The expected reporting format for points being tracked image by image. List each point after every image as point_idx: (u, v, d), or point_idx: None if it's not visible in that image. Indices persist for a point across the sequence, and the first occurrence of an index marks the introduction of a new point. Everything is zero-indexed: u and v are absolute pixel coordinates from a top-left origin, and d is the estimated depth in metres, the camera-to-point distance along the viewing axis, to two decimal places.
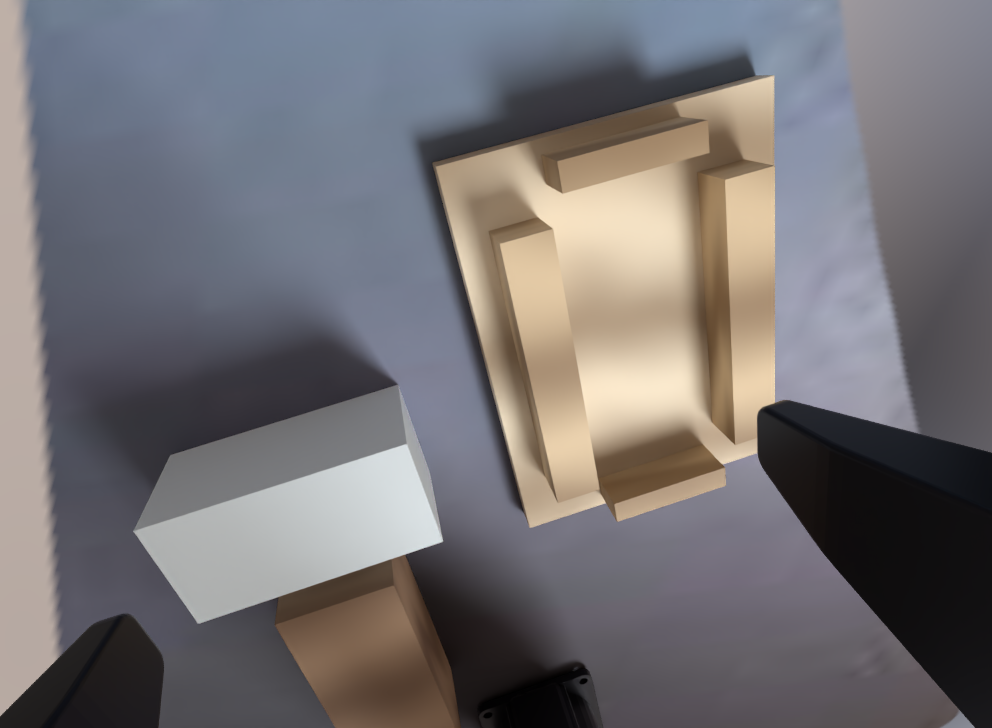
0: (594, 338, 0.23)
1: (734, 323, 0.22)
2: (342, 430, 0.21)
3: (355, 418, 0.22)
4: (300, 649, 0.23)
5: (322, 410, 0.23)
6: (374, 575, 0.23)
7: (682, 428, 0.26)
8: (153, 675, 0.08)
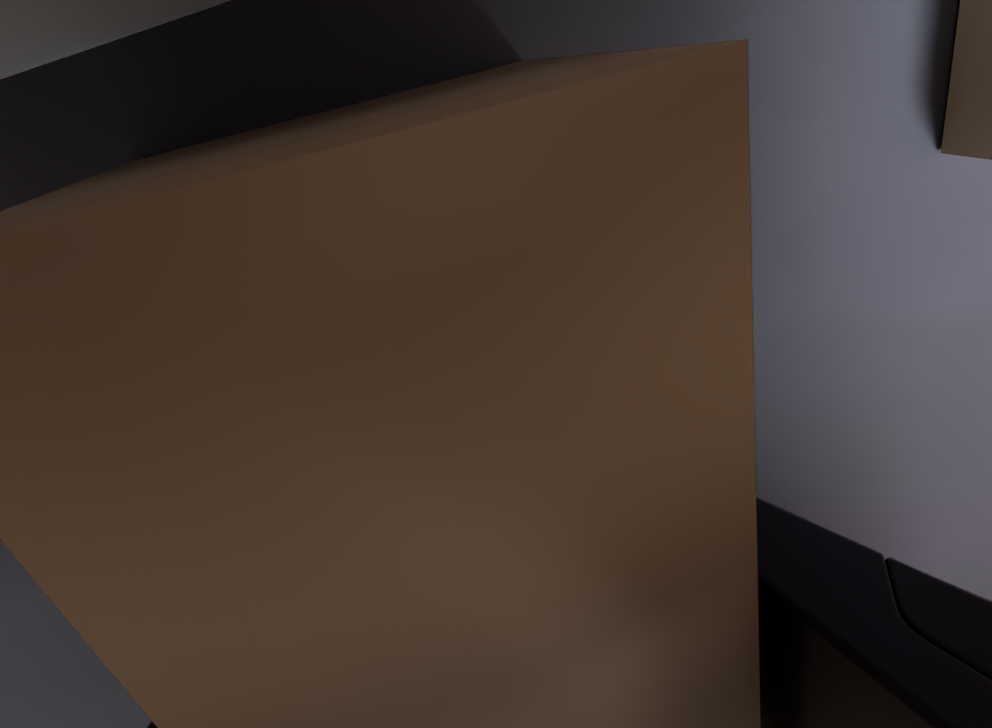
0: None
1: None
2: None
3: None
4: (77, 532, 0.03)
5: None
6: (562, 75, 0.04)
7: None
8: None
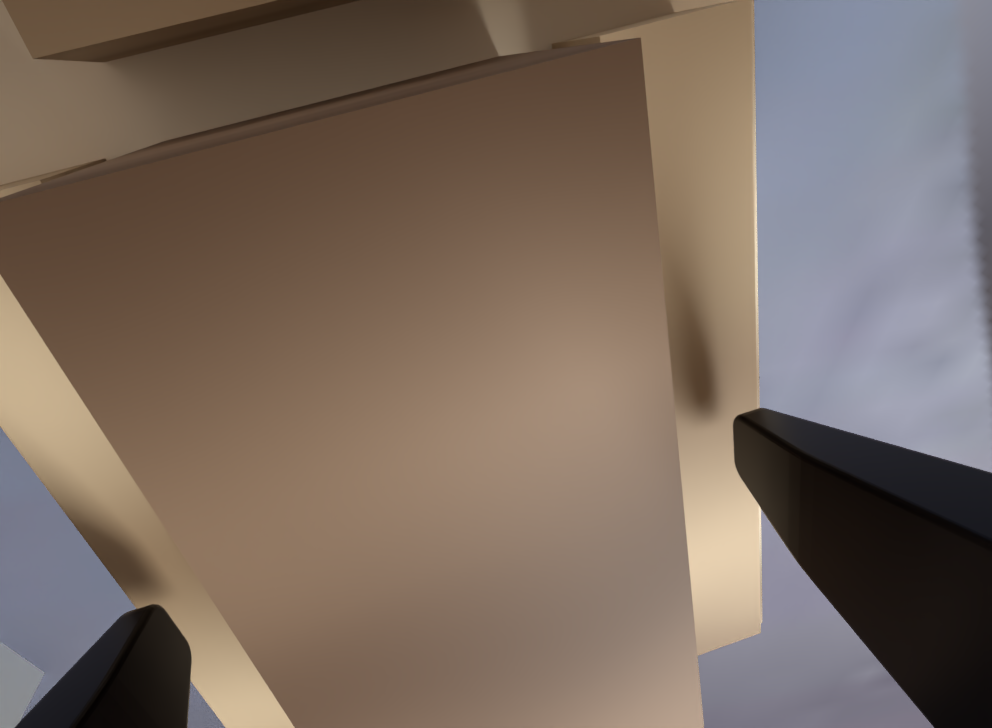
0: None
1: None
2: None
3: None
4: (145, 408, 0.04)
5: None
6: (513, 64, 0.05)
7: None
8: (182, 665, 0.08)
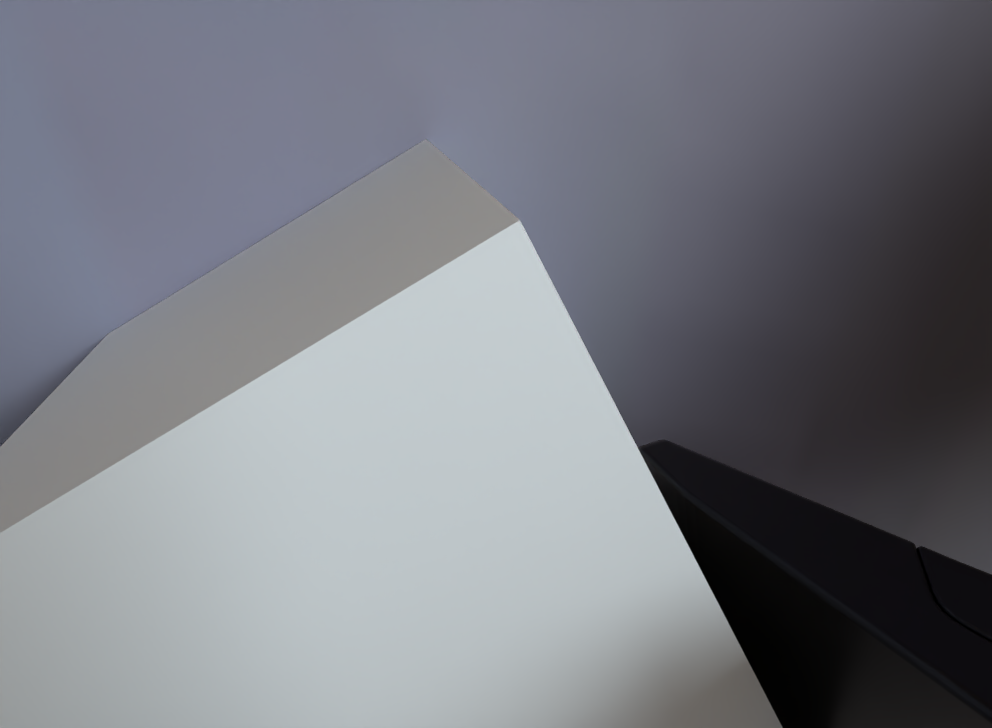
0: None
1: None
2: None
3: None
4: None
5: None
6: None
7: None
8: None
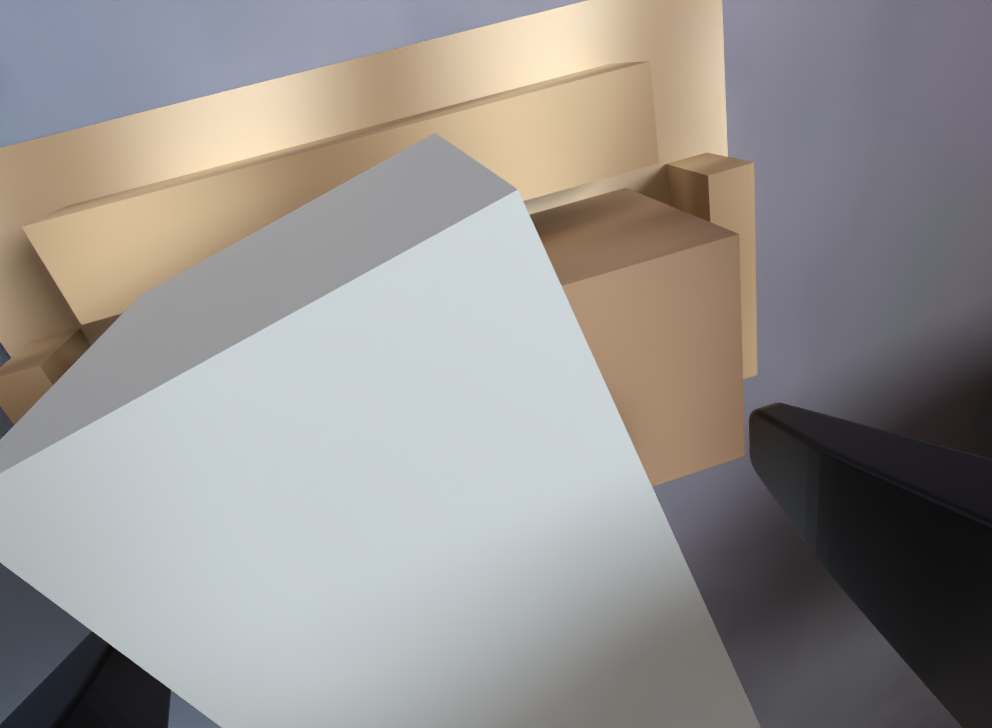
0: None
1: None
2: None
3: None
4: None
5: None
6: None
7: None
8: None
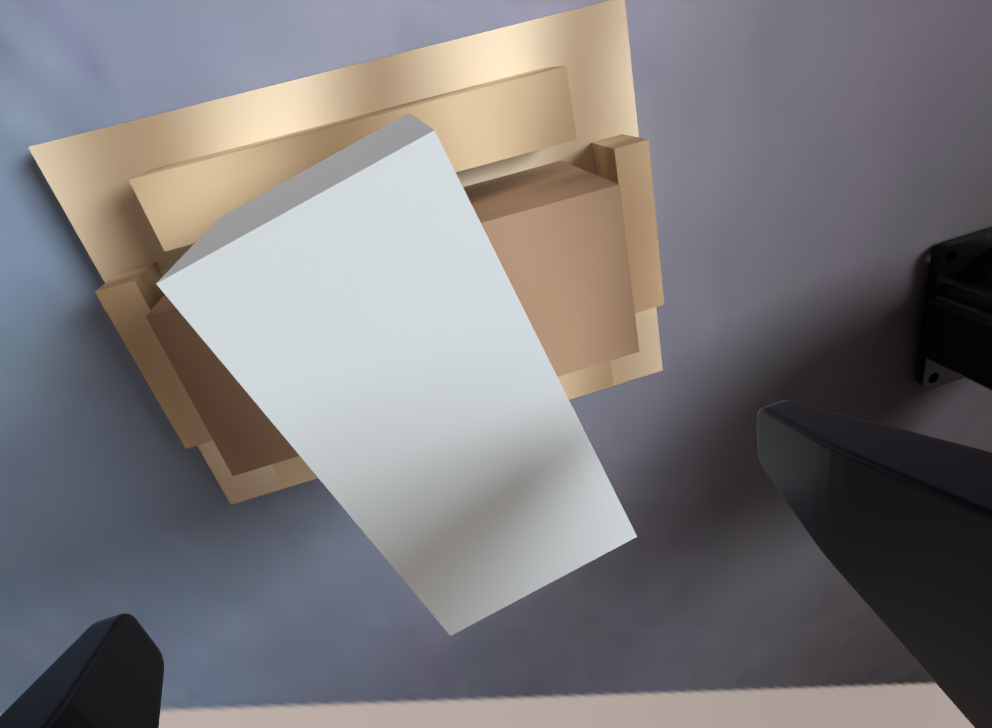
0: None
1: None
2: None
3: None
4: (289, 445, 0.15)
5: None
6: None
7: None
8: (153, 675, 0.08)
